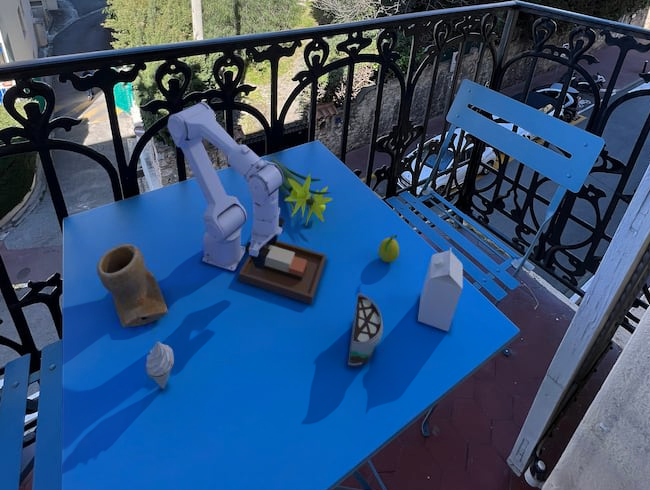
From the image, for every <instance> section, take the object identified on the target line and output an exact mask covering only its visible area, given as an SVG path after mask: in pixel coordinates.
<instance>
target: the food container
mask: <svg viewBox="0 0 650 490" xmlns="http://www.w3.org/2000/svg"><path fill="white" fill-rule="evenodd" d="M383 333H384V322H383V316H382V313H381V310H380V309H379V307H378V305H377V304H376V302H374V300H372V299H371V298H370V297H368V296H367V295H365V294H363V293H359V292H358V293H357V299H356V304H355V310H354V315H353V321H352V328H351V337H350V345H349V346H350V348H349V354H348V362H347V367H349V368H358V367H362V366H364V365H365V364H367V363H368V362H369V360H371V357H372V354H373V352H374V349H375V347H376V345H378V344H379V342H380V340H381V338H382V336H383Z"/></svg>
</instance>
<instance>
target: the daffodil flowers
mask: <svg viewBox="0 0 650 490" xmlns="http://www.w3.org/2000/svg"><path fill="white" fill-rule="evenodd" d="M270 162H272V163H275V164H276V165H277V166H278V167H279V168H280V169H281V171H282V173H283V175H284V181H283V183H282V184H281V185H280V186H279V187H278V190H280V191H281V192H282V193H283V194H284V198H283V199H284V202H289V204H290V207H291V210H292V211H291V212H292V213H291V218H292V217H293V218H296V213H297V211H298V210H299V209H300V208H301V213H302V214H301V218H304V214H305V210H306V206H307V207H308V212H307V217H306V223H305V227H307V226H308V222H309V220H310V219H311V216H312V214H313V213H314V215H315V216H316V217H317V218H318V219H319V220H320V221H322V223H325V219H324V216H323V213H324V212H325V211H326V205H325V204H327V203H329V202H331V201H332V200H333V198H332V197H328V196H324V195H328V194H331V193H332V192H331V191H327V190H328V188H329V186H326V187H324V188H322V189H321V190H320V191H319V189H317V190H311V189H310V187H311V185H312V184H311V183H314V182H320V181H322V179H321V178H313V177H312V176H311V172H309V174H308V175H307V176H304V175H302V174H300V173H298V172H296V171H294V170H292V169H290V168H288V167H286V166H284V165H283V164H281V163H280V162H279V161H278V160H276V159H275V158H271V159H270ZM298 178H299V179H301V180H303V181H304V183H303V182H302V181H300V180H299V179H298ZM323 196H324V197H323ZM294 202H296V203H294Z"/></svg>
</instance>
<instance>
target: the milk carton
mask: <svg viewBox="0 0 650 490" xmlns="http://www.w3.org/2000/svg"><path fill="white" fill-rule="evenodd" d="M463 270H464V264H463V263H462V262H461V261H460V259H458V257H457V256H456V255H455V254H454V252H453V251H452V247H450V248H449V250H445V251H442V252H438V253H433V254H432V255H431V258H430V262H429V265H428V268H427V271H426V275H425V279H424V283H423V287H422V290H421V293H420V298H419V307H418V316H417V321H418V322H420V323H423V324H425V325H428V326H430V327H434V328H437V329H439V330H442V331H445V332H449V330H450V328H451V325H452V321H453V318H454V315H455V312H456V309H457V306H458V304H459V301H460V297H461V295H462V292H463V289H464V288H463V287H464V283H463V282H464V271H463Z"/></svg>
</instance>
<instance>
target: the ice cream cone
mask: <svg viewBox="0 0 650 490" xmlns="http://www.w3.org/2000/svg"><path fill="white" fill-rule="evenodd" d="M174 356H175V355H174V351H173V349H172V348H171V346H169V345H168V344H164V343H162V342H160V341H158V340H157V341H156V342H155V344H154V347H153V348H152V349H151V350H149V354H147V356H146V364H145V370H146V373H147V375H148V376H149V377H151V378H152V379H153V380H154V381H155V383H156V384H157V385H158V386H159V387H160V388H161V389H162V390H164V389H165V388H166V385H167V383H168V379H169V376H170V373H171V370H172V368H173V366H174V362H175V357H174Z"/></svg>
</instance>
